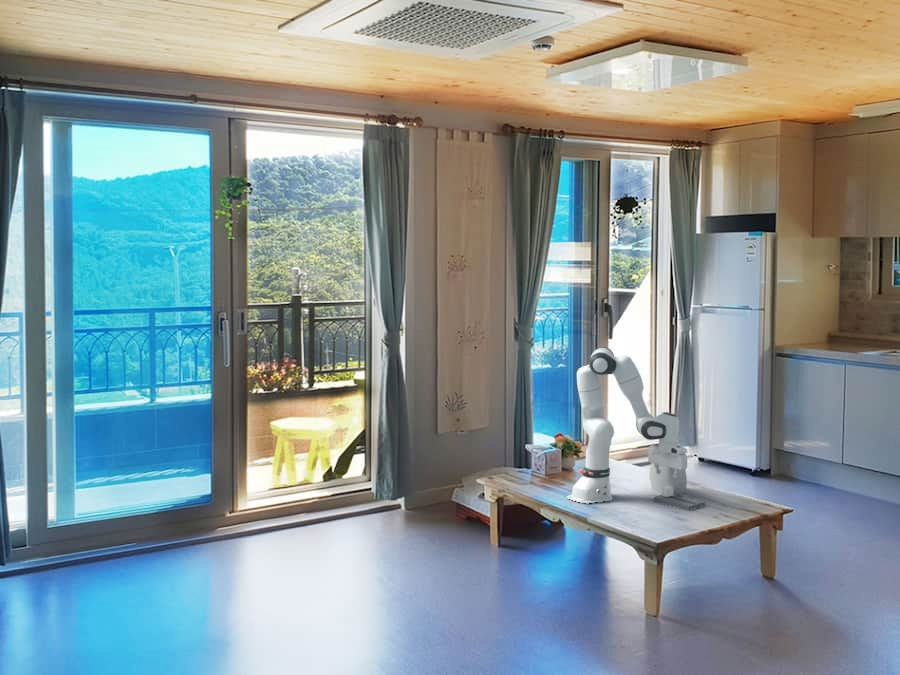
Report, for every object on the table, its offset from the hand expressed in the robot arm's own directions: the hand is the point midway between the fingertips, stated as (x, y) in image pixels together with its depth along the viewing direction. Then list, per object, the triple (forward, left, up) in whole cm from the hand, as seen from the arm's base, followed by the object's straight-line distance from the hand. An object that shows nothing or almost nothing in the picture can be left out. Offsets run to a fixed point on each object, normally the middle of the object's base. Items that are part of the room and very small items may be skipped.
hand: (666, 475), depth 410 cm
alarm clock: (+11, +8, -13) cm, 19 cm away
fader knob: (0, -1, -11) cm, 11 cm away
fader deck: (0, -7, -12) cm, 14 cm away
